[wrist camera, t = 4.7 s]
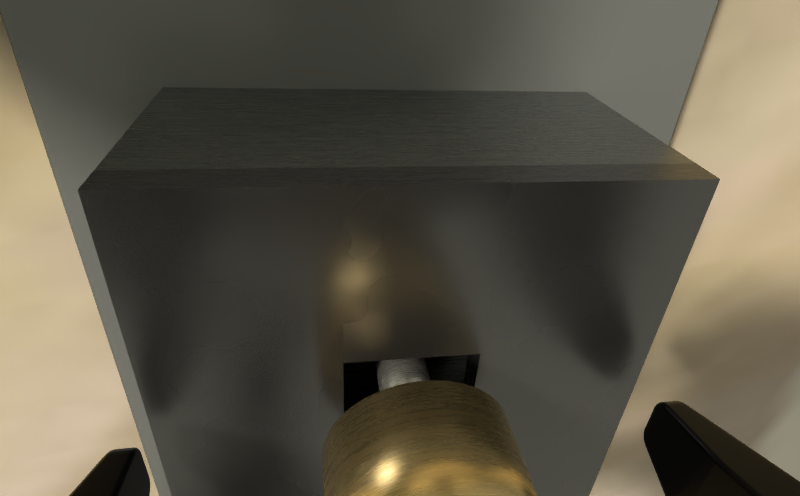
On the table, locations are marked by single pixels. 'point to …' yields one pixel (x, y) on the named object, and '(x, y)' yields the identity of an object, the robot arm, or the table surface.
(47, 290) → the table surface
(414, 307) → the grey knob block
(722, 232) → the table surface
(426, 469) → the golden knob
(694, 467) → the robot arm
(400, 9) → the slate board
